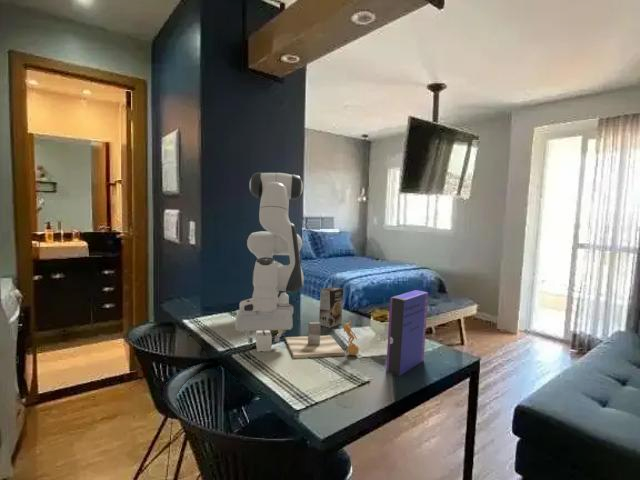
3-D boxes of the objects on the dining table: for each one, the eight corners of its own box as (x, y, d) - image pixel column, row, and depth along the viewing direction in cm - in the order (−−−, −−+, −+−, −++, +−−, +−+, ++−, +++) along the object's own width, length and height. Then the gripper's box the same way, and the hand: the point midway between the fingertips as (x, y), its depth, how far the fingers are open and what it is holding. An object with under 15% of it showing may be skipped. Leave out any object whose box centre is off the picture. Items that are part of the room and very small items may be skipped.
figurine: (363, 358, 131) (365, 324, 130) (348, 360, 129) (350, 325, 128) (351, 350, 139) (353, 317, 138) (337, 352, 136) (338, 319, 135)
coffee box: (330, 328, 164) (332, 291, 162) (318, 325, 167) (320, 288, 166) (342, 323, 171) (344, 288, 170) (330, 320, 175) (332, 285, 173)
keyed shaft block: (285, 340, 146) (286, 316, 145) (330, 338, 150) (331, 315, 150) (293, 358, 129) (294, 331, 128) (344, 355, 133) (346, 329, 132)
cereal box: (410, 356, 135) (415, 289, 133) (423, 360, 132) (428, 291, 130) (386, 371, 121) (390, 297, 119) (399, 376, 118) (404, 299, 116)
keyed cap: (255, 344, 140) (256, 329, 139) (269, 344, 141) (269, 329, 140) (257, 351, 133) (258, 335, 133) (271, 351, 134) (271, 335, 134)
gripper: (292, 301, 141) (290, 337, 142) (235, 302, 136) (234, 340, 137) (295, 305, 135) (293, 343, 136) (236, 306, 130) (235, 346, 131)
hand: (263, 341), depth 137 cm, fingers open, 8 cm apart
